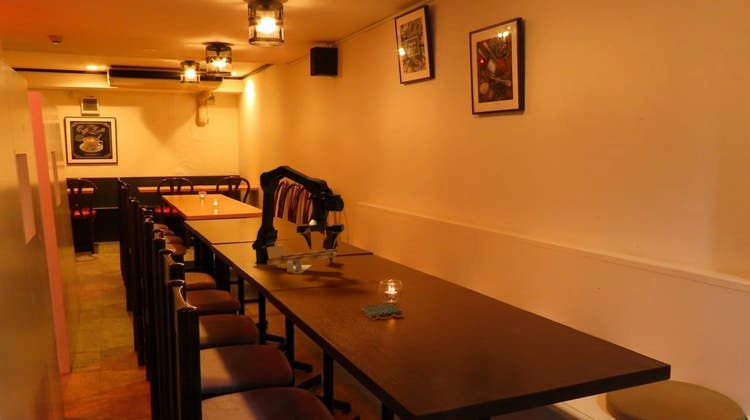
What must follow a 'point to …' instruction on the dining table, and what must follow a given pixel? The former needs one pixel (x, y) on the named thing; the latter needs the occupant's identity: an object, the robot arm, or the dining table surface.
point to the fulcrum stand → (297, 267)
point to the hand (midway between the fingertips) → (321, 249)
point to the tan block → (275, 251)
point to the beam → (304, 256)
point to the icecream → (329, 242)
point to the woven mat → (382, 311)
